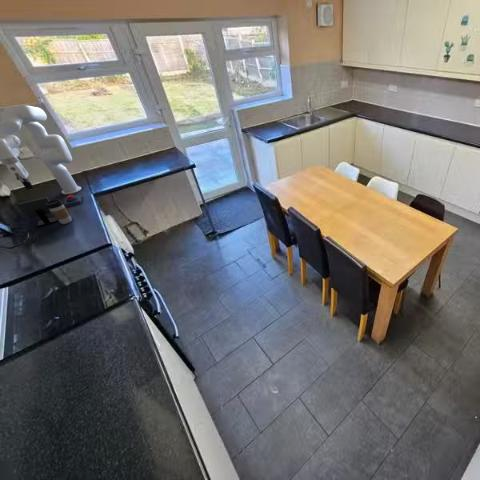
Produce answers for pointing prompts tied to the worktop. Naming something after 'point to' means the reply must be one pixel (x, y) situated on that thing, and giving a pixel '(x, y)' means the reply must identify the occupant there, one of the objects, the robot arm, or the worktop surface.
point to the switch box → (73, 201)
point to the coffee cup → (59, 211)
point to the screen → (34, 206)
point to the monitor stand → (45, 218)
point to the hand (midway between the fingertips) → (30, 188)
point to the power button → (70, 196)
